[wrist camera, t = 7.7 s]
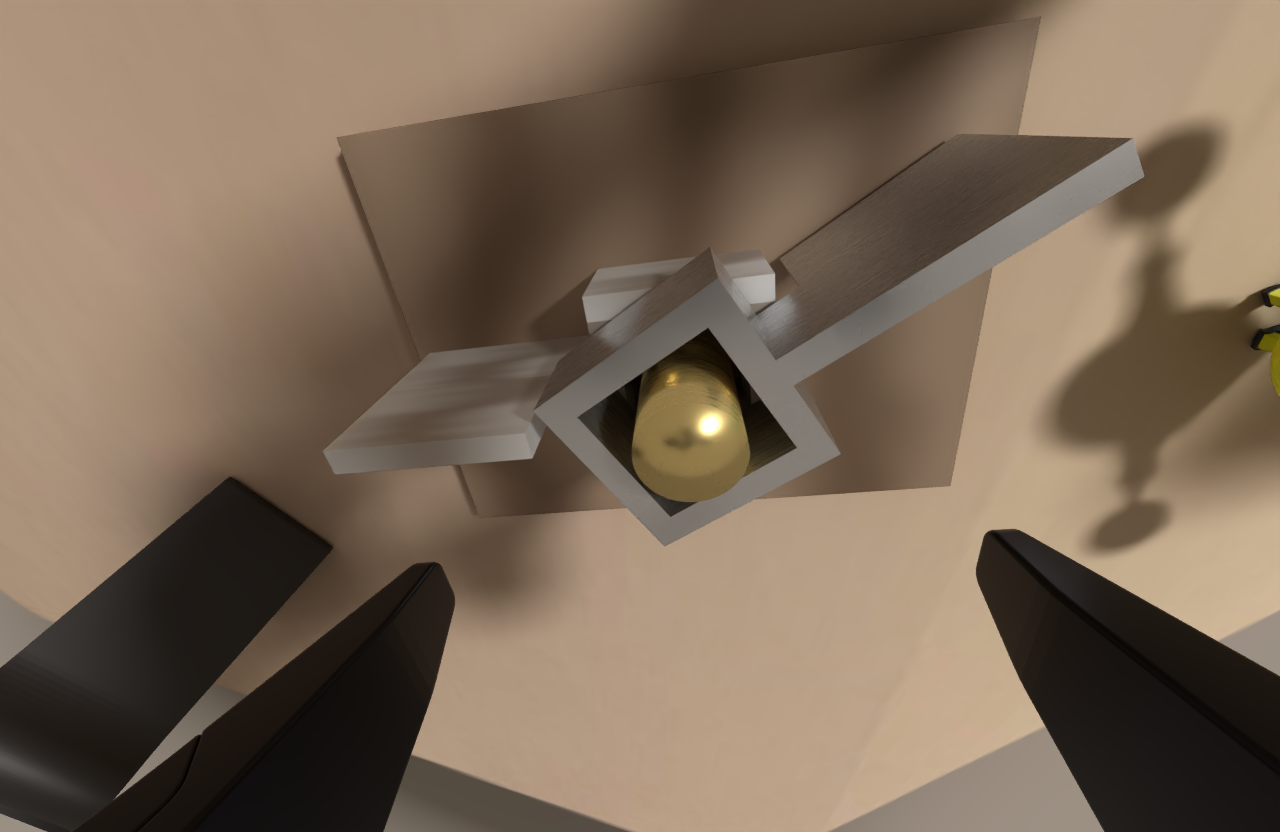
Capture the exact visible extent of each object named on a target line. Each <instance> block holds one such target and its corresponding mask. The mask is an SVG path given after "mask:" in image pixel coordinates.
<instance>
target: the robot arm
mask: <svg viewBox="0 0 1280 832" xmlns="http://www.w3.org/2000/svg"><path fill="white" fill-rule="evenodd" d="M976 577H977V581H978V584H979V587H980V589H981V591H982V594H983V596H984V598H985V601H986V603H987V605H988V608H989V610H990V612H991V615H992V617H993V619H994V622H995V624H996V626H997V629H998V631H999V633H1000V635H1001V638H1002V640H1003V642H1004V645H1005V647H1006V649H1007V652H1008V654H1009V656H1010V659H1011V661H1012V663H1013V666H1014V668H1015V670H1016V672H1017V674H1018V676H1019V679H1020V681H1021V682H1022V684H1023V686H1024V688H1025V690H1026V692H1027V694H1028V696H1029V698H1030V699H1031V701H1032V703H1033V705H1034V706H1035V708H1036V710H1037V712H1038V714H1039V715H1040V717H1041V719H1042V721H1043V723H1044V724H1045V726H1046V728H1047V730H1048V731H1049V733H1050V735H1051V737H1052V739H1053V741H1054V742H1055V744H1056V746H1057V748H1058V749H1059V751H1060V753H1061V755H1062V756H1063V758H1064V760H1065V762H1066V764H1067V766H1068V767H1069V769H1070V771H1071V773H1072V775H1073V776H1074V778H1075V780H1076V782H1077V784H1078V785H1079V787H1080V789H1081V791H1082V792H1083V794H1084V796H1085V798H1086V800H1087V801H1088V803H1089V805H1090V807H1091V809H1092V810H1093V812H1094V814H1095V815H1096V818H1097V819H1098V821H1099V823H1100V825H1101V827H1102V828H1103V830H1104V832H1280V676H1279V675H1277V674H1275V673H1273V672H1271V671H1270V670H1267V669H1266V668H1264V667H1262V666H1261V665H1259V664H1257V663H1255V662H1254V661H1252V660H1250V659H1248V658H1246V657H1245V656H1243V655H1241V654H1239V653H1238V652H1236V651H1234V650H1232V649H1230V648H1229V647H1227V646H1225V645H1223V644H1222V643H1220V642H1218V641H1216V640H1215V639H1213V638H1211V637H1209V636H1207V635H1206V634H1204V633H1202V632H1200V631H1199V630H1197V629H1195V628H1193V627H1191V626H1190V625H1188V624H1186V623H1184V622H1182V621H1181V620H1179V619H1177V618H1175V617H1174V616H1172V615H1170V614H1168V613H1166V612H1165V611H1163V610H1161V609H1159V608H1158V607H1156V606H1154V605H1152V604H1150V603H1149V602H1147V601H1145V600H1143V599H1142V598H1140V597H1138V596H1136V595H1134V594H1133V593H1131V592H1129V591H1127V590H1126V589H1124V588H1122V587H1120V586H1118V585H1117V584H1115V583H1113V582H1111V581H1109V580H1108V579H1106V578H1104V577H1102V576H1101V575H1099V574H1097V573H1095V572H1093V571H1092V570H1090V569H1088V568H1086V567H1085V566H1083V565H1081V564H1079V563H1077V562H1076V561H1074V560H1072V559H1070V558H1069V557H1067V556H1065V555H1063V554H1061V553H1060V552H1058V551H1056V550H1054V549H1053V548H1051V547H1049V546H1047V545H1045V544H1044V543H1042V542H1040V541H1038V540H1036V539H1035V538H1033V537H1031V536H1029V535H1028V534H1026V533H1024V532H1022V531H1020V530H1017V529H1003V530H991V531H988V532H987V533H986V534H985V535H984V538H983V542H982V546H981V550H980V554H979V558H978V562H977V566H976ZM454 607H455V596H454V592H453V590H452V588H451V586H450V584H449V581H448V579H447V577H446V575H445V572H444V570H443V568H442V566H441V565H440V564H439V563H436V562H426V563H417V564H414V565H412V566H411V567H409V568H408V569H407V570H406V571H404V572H403V573H402V574H401V575H399V576H398V577H397V578H396V579H394V580H393V581H392V582H390V583H389V584H388V585H387V586H385V587H384V588H383V589H382V590H380V591H379V592H378V593H377V594H375V595H374V596H373V597H371V598H370V599H369V600H368V601H366V602H365V603H364V604H363V605H361V606H360V607H359V608H358V609H356V610H355V611H354V612H353V613H351V614H350V615H349V616H347V617H346V618H345V619H344V620H342V621H341V622H340V623H339V624H337V625H336V626H335V627H334V628H332V629H331V630H330V631H329V632H327V633H326V634H325V635H323V636H322V637H321V638H320V639H318V640H317V641H316V642H315V643H313V644H312V645H311V646H310V647H308V648H307V649H306V650H304V651H303V652H302V653H301V654H299V655H298V656H297V657H296V658H294V659H293V660H292V661H291V662H289V663H288V664H287V665H285V666H284V667H283V668H282V669H280V670H279V671H278V672H277V673H275V674H274V675H273V676H272V677H270V678H269V679H268V680H266V681H265V682H264V683H263V684H261V685H260V686H259V687H258V688H256V689H255V690H254V691H253V692H251V693H250V694H249V695H248V696H246V697H245V698H244V699H242V700H241V701H240V702H239V703H237V704H236V705H235V706H234V707H232V708H231V709H230V710H229V711H227V712H226V713H225V714H224V715H222V716H221V717H220V718H218V719H217V720H216V721H215V722H213V723H212V724H211V725H210V726H208V727H207V728H206V729H205V730H204V731H203V732H202V735H197V736H195V737H194V738H193V739H192V740H191V741H189V742H188V743H187V744H186V745H184V746H183V747H182V748H181V749H179V750H178V751H177V752H175V753H174V754H173V755H172V756H170V757H169V758H168V759H166V760H165V761H164V762H162V763H161V764H160V765H159V766H157V767H156V768H155V769H153V770H152V771H151V772H150V773H148V774H147V775H146V776H144V777H143V778H142V779H140V780H139V781H138V782H137V783H135V784H134V785H133V786H132V787H130V788H129V789H127V790H126V791H125V792H124V793H122V794H121V795H120V796H118V797H117V798H115V799H114V800H113V801H111V802H110V803H109V804H107V805H106V806H105V807H103V808H102V809H100V810H99V811H98V812H96V813H95V814H94V815H92V816H91V817H90V818H88V819H87V820H86V821H84V822H83V823H81V824H80V825H79V826H77V827H76V828H75V829H73V830H72V831H70V832H383V831H384V829H385V826H386V823H387V820H388V817H389V814H390V812H391V809H392V806H393V803H394V801H395V798H396V795H397V792H398V790H399V787H400V784H401V781H402V778H403V776H404V773H405V770H406V766H407V764H408V762H409V759H410V756H411V753H412V750H413V748H414V745H415V742H416V739H417V736H418V734H419V731H420V728H421V725H422V722H423V720H424V717H425V714H426V711H427V708H428V705H429V702H430V699H431V696H432V693H433V690H434V686H435V683H436V679H437V675H438V671H439V667H440V663H441V659H442V655H443V651H444V647H445V643H446V639H447V635H448V631H449V627H450V623H451V619H452V615H453V611H454Z"/></svg>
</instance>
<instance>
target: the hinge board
mask: <svg viewBox="0 0 1280 832" xmlns="http://www.w3.org/2000/svg"><path fill="white" fill-rule="evenodd" d="M1040 18H1041V17H1036V18H1030V19H1024V20H1019V21H1013V22H1007V23H1001V24H995V25H989V26H984V27H978V28H972V29H966V30H960V31H954V32H949V33H943V34H937V35H931V36H925V37H919V38H914V39H908V40H902V41H896V42H890V43H884V44H879V45H873V46H867V47H861V48H855V49H849V50H844V51H838V52H832V53H826V54H820V55H814V56H809V57H803V58H797V59H791V60H785V61H779V62H774V63H768V64H762V65H756V66H750V67H744V68H739V69H733V70H727V71H721V72H715V73H709V74H704V75H698V76H692V77H686V78H680V79H674V80H669V81H663V82H657V83H651V84H645V85H639V86H634V87H628V88H622V89H616V90H610V91H604V92H599V93H593V94H587V95H581V96H575V97H569V98H564V99H558V100H552V101H546V102H540V103H534V104H529V105H523V106H517V107H511V108H505V109H499V110H494V111H488V112H482V113H476V114H470V115H464V116H459V117H453V118H447V119H441V120H435V121H429V122H424V123H418V124H412V125H406V126H400V127H394V128H389V129H383V130H377V131H371V132H365V133H359V134H354V135H348V136H342V137H336V138H337V140H338V143H339V146H340V148H341V151H342V154H343V156H344V159H345V162H346V164H347V167H348V170H349V172H350V175H351V178H352V180H353V183H354V186H355V188H356V191H357V193H358V196H359V199H360V201H361V204H362V207H363V209H364V212H365V215H366V217H367V220H368V223H369V225H370V228H371V231H372V233H373V236H374V239H375V241H376V244H377V247H378V249H379V252H380V255H381V257H382V260H383V263H384V265H385V268H386V271H387V273H388V276H389V279H390V281H391V284H392V287H393V289H394V292H395V294H396V297H397V300H398V302H399V305H400V308H401V310H402V313H403V316H404V318H405V321H406V324H407V326H408V329H409V332H410V334H411V337H412V340H413V342H414V345H415V348H416V350H417V353H418V356H419V358H420V361H421V362H420V363H418V364H417V365H416V366H415V367H414V368H413V369H412V370H411V371H410V372H409V373H407V374H406V375H405V376H404V377H403V378H402V379H401V380H400V381H399V382H398V383H397V384H395V385H394V386H393V387H392V388H391V389H390V390H389V391H388V392H387V393H386V394H384V395H383V396H382V397H381V398H380V399H379V400H378V401H377V402H376V403H375V404H374V405H372V406H371V407H370V408H369V409H368V410H367V411H366V412H365V413H364V414H363V415H361V416H360V417H359V418H358V419H357V420H356V421H355V422H354V423H353V424H352V425H351V426H349V427H348V428H347V429H346V430H345V431H344V432H343V433H342V434H341V435H340V436H338V437H337V438H336V439H335V440H334V441H333V442H332V443H331V444H330V445H329V446H328V447H326V448H325V449H324V450H323V453H324V455H325V457H326V459H327V461H328V463H329V464H330V466H331V468H332V470H333V472H334V474H335V475H337V474H349V473H362V472H374V471H386V470H398V469H410V468H423V467H435V466H447V465H460V467H461V470H462V473H463V475H464V478H465V481H466V483H467V486H468V489H469V491H470V494H471V496H472V499H473V502H474V504H475V507H476V510H477V512H478V515H479V518H485V517H500V516H515V515H530V514H545V513H559V512H574V511H589V510H604V509H618V508H627V507H626V506H625V505H624V504H623V503H622V502H621V501H620V500H619V499H618V498H617V497H616V496H615V495H614V494H613V493H612V492H611V491H610V490H609V489H608V488H607V487H606V486H605V485H604V484H603V483H602V482H601V481H600V480H599V479H598V477H597V476H596V475H595V474H594V473H593V472H592V471H591V470H590V469H589V468H588V467H587V466H586V465H585V464H584V463H583V462H582V461H581V460H580V459H579V458H578V457H577V456H576V455H575V454H574V453H573V452H572V451H571V450H570V449H569V448H568V447H567V446H566V445H565V443H564V442H563V441H562V440H561V439H560V438H559V437H558V436H557V435H556V434H555V433H554V432H553V431H552V430H551V429H550V428H549V427H548V426H547V425H546V424H545V423H544V422H543V421H542V420H541V419H540V418H539V417H538V416H537V415H536V414H535V413H534V412H533V410H534V408H535V406H536V404H537V402H538V400H539V398H540V396H541V394H542V393H543V391H544V389H545V387H546V385H547V383H548V381H549V379H550V377H551V375H552V373H553V371H554V369H555V367H556V365H557V363H558V361H559V359H561V358H562V357H563V356H565V355H566V354H567V353H569V352H570V351H571V350H573V349H574V348H575V347H577V346H578V345H579V344H581V343H582V342H583V341H585V340H586V339H587V338H589V337H590V336H591V335H593V334H594V333H595V332H597V331H598V330H599V329H601V328H602V327H603V326H605V325H606V324H607V323H609V322H610V321H611V320H613V319H614V318H615V317H617V316H618V315H619V314H621V313H622V312H623V311H625V310H626V309H627V308H629V307H630V306H631V305H633V304H634V303H635V302H637V301H638V300H639V299H641V298H642V297H643V296H645V295H646V294H647V293H649V292H650V291H651V290H653V289H654V288H655V287H657V286H658V285H659V284H661V283H662V282H663V281H665V280H666V279H667V278H669V277H670V276H671V275H673V274H674V273H675V272H677V271H678V270H679V269H681V268H682V267H683V266H685V265H686V264H687V263H689V262H690V261H691V260H693V259H694V258H695V257H697V256H698V255H699V254H701V253H702V252H704V251H705V250H706V249H708V248H709V247H710V248H711V249H712V251H713V252H714V254H715V255H716V256H717V258H718V259H719V261H720V262H721V264H722V265H723V267H724V268H725V270H726V271H727V272H728V274H729V275H730V277H731V278H732V280H733V281H734V283H735V284H736V286H737V287H738V288H739V290H740V291H741V293H742V294H743V296H744V297H745V299H746V300H747V302H748V303H749V304H750V306H751V307H752V309H753V310H754V312H755V313H756V315H758V314H759V313H761V312H762V311H764V310H765V309H767V308H768V307H770V306H771V305H773V304H774V303H776V302H777V301H779V300H780V299H782V298H783V297H785V296H786V295H788V294H789V293H791V292H792V291H794V290H795V289H797V288H798V286H797V285H796V283H795V282H794V281H793V279H792V278H791V276H790V275H789V273H788V272H787V270H786V268H785V267H784V265H783V264H782V262H781V261H780V258H781V257H782V256H784V255H785V254H787V253H788V252H790V251H791V250H792V249H794V248H795V247H797V246H798V245H800V244H801V243H802V242H804V241H805V240H807V239H808V238H810V237H811V236H812V235H814V234H815V233H817V232H818V231H820V230H821V229H822V228H824V227H825V226H827V225H828V224H830V223H831V222H832V221H834V220H835V219H837V218H838V217H840V216H841V215H842V214H844V213H845V212H847V211H848V210H850V209H851V208H852V207H854V206H855V205H857V204H858V203H860V202H861V201H862V200H864V199H865V198H867V197H868V196H870V195H871V194H872V193H874V192H875V191H877V190H878V189H880V188H881V187H882V186H884V185H885V184H887V183H888V182H890V181H891V180H892V179H894V178H895V177H897V176H898V175H900V174H901V173H902V172H904V171H905V170H907V169H908V168H910V167H911V166H912V165H914V164H915V163H917V162H918V161H920V160H921V159H922V158H924V157H925V156H927V155H928V154H930V153H931V152H932V151H934V150H935V149H937V148H938V147H940V146H941V145H942V144H944V143H945V142H947V141H948V140H950V139H951V138H952V137H954V136H955V135H957V134H991V135H1018V133H1019V127H1020V122H1021V117H1022V112H1023V107H1024V101H1025V96H1026V91H1027V86H1028V81H1029V75H1030V70H1031V65H1032V60H1033V55H1034V50H1035V44H1036V39H1037V34H1038V29H1039V24H1040ZM991 273H992V268H990V269H988V270H987V271H985V272H983V273H982V274H980V275H978V276H977V277H975V278H973V279H972V280H970V281H968V282H967V283H965V284H963V285H962V286H960V287H958V288H956V289H955V290H953V291H951V292H950V293H948V294H946V295H945V296H943V297H941V298H940V299H938V300H936V301H935V302H933V303H931V304H930V305H928V306H926V307H925V308H923V309H921V310H920V311H918V312H916V313H914V314H913V315H911V316H909V317H908V318H906V319H904V320H903V321H901V322H899V323H898V324H896V325H894V326H893V327H891V328H889V329H888V330H886V331H884V332H883V333H881V334H879V335H878V336H876V337H874V338H872V339H871V340H869V341H867V342H866V343H864V344H862V345H861V346H859V347H857V348H856V349H854V350H852V351H851V352H849V353H847V354H846V355H844V356H842V357H841V358H839V359H837V360H836V361H834V362H832V363H830V364H829V365H827V366H825V367H824V368H822V369H820V370H819V371H817V372H815V373H814V374H812V375H810V376H809V377H807V378H805V379H804V380H802V382H803V383H804V384H805V386H806V387H807V389H808V390H809V392H810V393H811V395H812V397H813V399H814V401H815V403H816V405H817V407H818V409H819V411H820V413H821V415H822V417H823V419H824V421H825V423H826V425H827V427H828V429H829V431H830V433H831V435H832V437H833V439H834V441H835V443H836V445H837V447H838V449H839V451H840V453H841V454H840V455H838V456H836V457H834V458H833V459H831V460H829V461H827V462H825V463H823V464H821V465H819V466H817V467H815V468H814V469H812V470H810V471H808V472H806V473H804V474H802V475H800V476H798V477H796V478H794V479H793V480H791V481H789V482H787V483H785V484H783V485H781V486H779V487H777V488H775V489H773V490H772V491H770V492H768V493H766V494H764V495H762V496H760V497H758V498H756V499H766V498H781V497H796V496H811V495H826V494H840V493H855V492H870V491H885V490H900V489H914V488H929V487H944V486H950V485H951V480H952V475H953V470H954V465H955V459H956V454H957V449H958V444H959V439H960V433H961V428H962V423H963V418H964V413H965V408H966V402H967V397H968V392H969V387H970V382H971V376H972V371H973V366H974V361H975V356H976V350H977V345H978V340H979V335H980V330H981V325H982V319H983V314H984V309H985V304H986V299H987V293H988V288H989V283H990V278H991ZM729 359H730V363H731V367H732V372H733V376H734V381H735V385H736V389H737V394H738V398H739V402H740V407H741V410H743V409H745V408H746V407H748V406H750V405H751V404H753V403H755V402H756V401H758V400H760V399H761V398H760V397H759V396H758V394H757V393H756V392H755V390H754V389H753V387H752V386H751V385H750V383H749V382H748V381H747V379H746V378H745V377H744V375H743V374H742V373H741V371H740V370H739V368H738V367H737V366H736V364H735V363H734V362H733V360H732V359H731V358H730V356H729ZM641 377H642V373H641V374H640V375H638V376H637V377H635V378H634V379H632V380H631V381H629V382H628V383H626V384H625V385H624V386H622V387H621V388H619V389H618V391H619V392H620V393H621V395H622V396H623V397H624V398H625V399H626V400H627V402H628V403H629V404H630V405H631V406H632V407H633V408H634V410H635V411H636V412H637V406H638V399H639V392H640V384H641Z"/></svg>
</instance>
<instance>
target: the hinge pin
mask: <svg viewBox="0 0 1280 832" xmlns="http://www.w3.org/2000/svg"><path fill="white" fill-rule="evenodd" d="M631 455H632V462H633V466H634V469H635V471H636V473H637V475H638V476H639V478H640V479H641V481H642V482H643V483H644V484H645V485H646V486H647V487H648V488H649V489H651V490H652V491H654V492H655V493H657V494H659V495H661V496H663V497H665V498H668V499H671V500H675V501H681V502H699V501H705V500H709V499H712V498H715V497H718V496H720V495H722V494H724V493H725V492H727V491H729V490H730V489H731V488H732V487H734V486H735V485H736V484H737V483H738V482H739V481H740V479H741V478H742V476H743V475H744V473H745V471H746V469H747V466H748V463H749V458H750V448H749V442H748V437H747V433H746V429H745V424H744V420H743V416H742V411H741V407H740V402H739V398H738V394H737V389H736V385H735V381H734V376H733V372H732V367H731V363H730V359H729V355H728V354H727V352H726V351H725V350H724V348H723V347H722V345H721V344H720V343H719V341H718V340H717V339H716V337H715V336H714V335H713V333H712V332H711V331H710V329H709V328H707V329H705V330H704V331H702V332H701V333H700V334H698V335H697V336H695V337H694V338H692V339H691V340H689V341H688V342H686V343H685V344H683V345H682V346H681V347H679V348H678V349H676V350H675V351H673V352H672V353H670V354H669V355H667V356H666V357H664V358H663V359H662V360H660V361H659V362H657V363H656V364H654V365H653V366H651V367H650V368H648V369H647V370H645V371H644V372H643V373H642V377H641V384H640V392H639V399H638V406H637V414H636V421H635V428H634V435H633V443H632V453H631Z"/></svg>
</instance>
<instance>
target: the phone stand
mask: <svg viewBox="0 0 1280 832" xmlns="http://www.w3.org/2000/svg"><path fill="white" fill-rule="evenodd" d="M332 549H333V548H332V547H331V546H329V545H328V544H327V543H325V542H324V541H322V540H321V539H319V538H318V537H316V536H315V535H314V534H312V533H311V532H309V531H308V530H306V529H305V528H303V527H302V526H301V525H299V524H298V523H296V522H295V521H293V520H292V519H290V518H289V517H288V516H286V515H285V514H283V513H282V512H280V511H279V510H277V509H276V508H275V507H273V506H272V505H270V504H269V503H267V502H266V501H264V500H263V499H262V498H260V497H259V496H257V495H256V494H254V493H253V492H252V491H250V490H249V489H247V488H246V487H244V486H243V485H241V484H240V483H239V482H237V481H236V480H234V479H233V478H231V477H229V478H228V479H226V480H225V481H224V482H223V483H221V484H220V485H219V486H218V487H217V488H215V489H214V490H213V491H212V492H211V493H209V494H208V495H207V496H206V497H205V498H203V499H202V500H201V501H200V502H199V503H198V504H196V505H195V506H194V507H193V508H192V509H190V510H189V511H188V512H187V513H186V514H184V515H183V516H182V517H181V518H180V519H178V520H177V521H176V522H175V523H174V524H172V525H171V526H170V527H169V528H168V529H166V530H165V531H164V532H163V533H162V534H160V535H159V536H158V537H157V538H156V539H154V540H153V541H152V542H151V543H150V544H148V545H147V546H146V547H145V548H144V549H142V550H141V551H140V552H139V553H138V554H136V555H135V556H134V557H133V558H132V559H130V560H129V561H128V562H127V563H126V564H125V565H123V566H122V567H121V568H120V569H119V570H117V571H116V572H115V573H114V574H113V575H111V576H110V577H109V578H108V579H107V580H105V581H104V582H103V583H102V584H101V585H99V586H98V587H97V588H96V589H95V590H93V591H92V592H91V593H90V594H89V595H87V596H86V597H85V598H84V599H83V600H81V601H80V602H79V603H78V604H77V605H75V606H74V607H73V608H72V609H71V610H69V611H68V612H67V613H66V614H65V615H63V616H62V617H61V618H60V619H59V620H58V621H56V622H55V623H54V624H53V625H52V626H50V627H49V628H48V629H47V630H46V631H44V632H43V633H42V634H41V635H40V636H38V637H37V638H36V639H35V640H34V641H32V642H31V643H30V644H29V645H28V646H26V647H25V648H24V649H23V650H22V651H20V652H19V653H18V654H17V655H16V656H14V657H13V658H12V659H11V660H10V661H8V662H7V663H6V664H5V665H3V666H2V667H1V668H0V813H1V814H4V815H6V816H8V817H11V818H14V819H16V820H19V821H21V822H24V823H27V824H29V825H32V826H34V827H37V828H39V829H42V830H45V831H47V832H70V831H72V830H73V829H75V828H76V827H77V826H79V825H80V824H81V823H83V822H84V821H86V820H87V819H88V818H90V817H91V816H92V815H94V814H95V813H96V812H98V811H99V810H100V809H102V808H103V807H105V806H106V805H107V804H109V803H110V802H111V801H113V799H114V798H115V797H116V796H117V795H118V794H119V793H120V791H121V790H122V789H123V788H124V787H125V786H126V784H127V783H128V782H129V781H130V779H131V778H132V777H133V776H134V775H135V773H136V772H137V771H138V770H139V769H140V767H141V766H142V765H143V764H144V762H145V761H146V760H147V759H148V758H149V756H150V755H151V754H152V753H153V752H154V751H155V749H156V748H157V747H158V746H159V745H160V743H161V742H162V741H163V740H164V739H165V738H166V736H167V735H168V734H169V733H170V732H171V731H172V730H173V729H174V727H175V726H176V725H177V724H178V723H179V722H180V721H181V719H182V718H183V717H184V716H185V715H186V714H187V713H188V711H189V710H190V709H191V708H192V707H193V706H194V705H195V704H196V702H197V701H198V700H199V699H200V698H201V697H202V696H203V695H204V694H205V692H206V691H207V690H208V689H209V688H210V687H211V686H212V685H213V683H214V682H215V681H216V680H217V679H218V678H219V677H220V676H221V674H222V673H223V672H224V671H225V670H226V669H227V668H228V666H229V665H230V664H231V663H232V662H233V661H234V660H235V659H236V657H237V656H238V655H239V654H240V653H241V652H242V651H243V650H244V648H245V647H246V646H247V645H248V644H249V643H250V642H251V641H252V639H253V638H254V637H255V636H256V635H257V634H258V633H259V631H260V630H261V629H262V628H263V627H264V626H265V625H266V624H267V622H268V621H269V620H270V619H271V618H272V617H273V616H274V615H275V613H276V612H277V611H278V610H279V609H280V608H281V607H282V606H283V604H284V603H285V602H286V601H287V600H288V599H289V598H290V597H291V595H292V594H293V593H294V592H295V591H296V590H297V589H298V587H299V586H300V585H301V584H302V583H303V582H304V581H305V580H306V578H307V577H308V576H309V575H310V574H311V573H312V572H313V571H314V569H315V568H316V567H317V566H318V565H319V564H320V563H321V562H322V560H323V559H324V558H325V557H326V556H327V555H328V554H329V553H330V551H331V550H332Z"/></svg>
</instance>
